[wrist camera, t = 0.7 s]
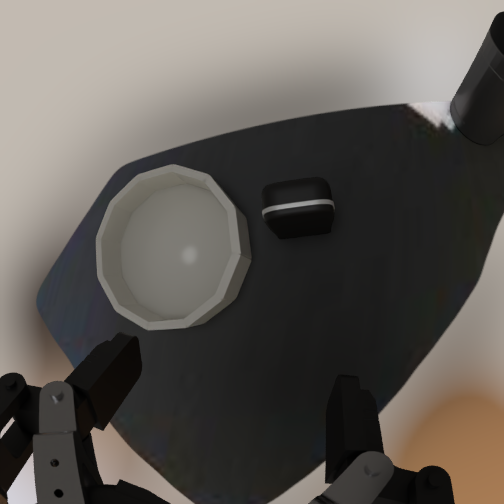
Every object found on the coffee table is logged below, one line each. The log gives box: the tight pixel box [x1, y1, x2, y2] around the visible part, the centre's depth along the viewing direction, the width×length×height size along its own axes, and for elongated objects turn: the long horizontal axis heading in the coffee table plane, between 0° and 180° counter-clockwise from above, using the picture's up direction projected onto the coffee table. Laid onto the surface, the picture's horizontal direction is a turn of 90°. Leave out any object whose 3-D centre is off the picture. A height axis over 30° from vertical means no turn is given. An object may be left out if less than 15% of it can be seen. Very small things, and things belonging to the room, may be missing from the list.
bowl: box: [96, 164, 252, 330], centre depth 39 cm, size 20×20×6 cm
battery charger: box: [262, 177, 335, 239], centre depth 33 cm, size 7×4×11 cm, turn 96°
